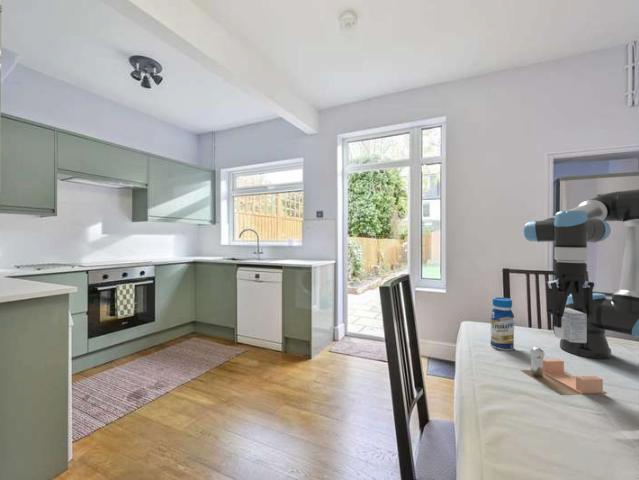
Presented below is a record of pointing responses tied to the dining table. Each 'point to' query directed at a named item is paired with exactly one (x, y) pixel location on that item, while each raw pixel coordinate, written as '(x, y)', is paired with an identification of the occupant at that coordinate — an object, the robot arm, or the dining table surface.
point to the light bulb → (537, 362)
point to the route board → (553, 384)
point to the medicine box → (575, 326)
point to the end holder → (572, 378)
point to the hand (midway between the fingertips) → (569, 337)
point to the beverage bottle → (502, 324)
